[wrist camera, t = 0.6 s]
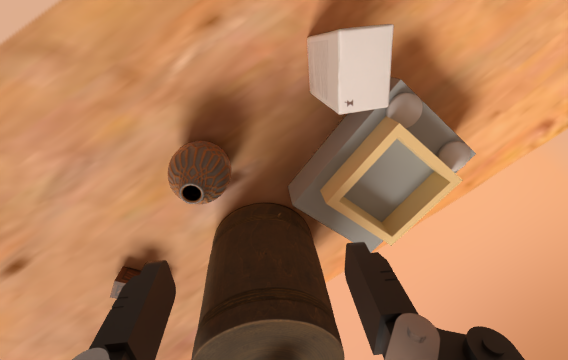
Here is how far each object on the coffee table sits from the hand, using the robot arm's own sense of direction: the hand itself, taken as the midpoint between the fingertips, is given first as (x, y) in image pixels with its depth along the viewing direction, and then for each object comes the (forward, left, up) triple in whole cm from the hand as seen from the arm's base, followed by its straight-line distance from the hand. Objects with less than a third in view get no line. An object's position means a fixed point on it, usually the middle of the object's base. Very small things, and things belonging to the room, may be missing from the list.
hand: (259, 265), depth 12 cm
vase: (+7, -3, -24) cm, 25 cm away
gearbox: (-5, +15, -23) cm, 28 cm away
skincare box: (-11, +2, -24) cm, 26 cm away
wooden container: (+14, +11, -24) cm, 30 cm away
